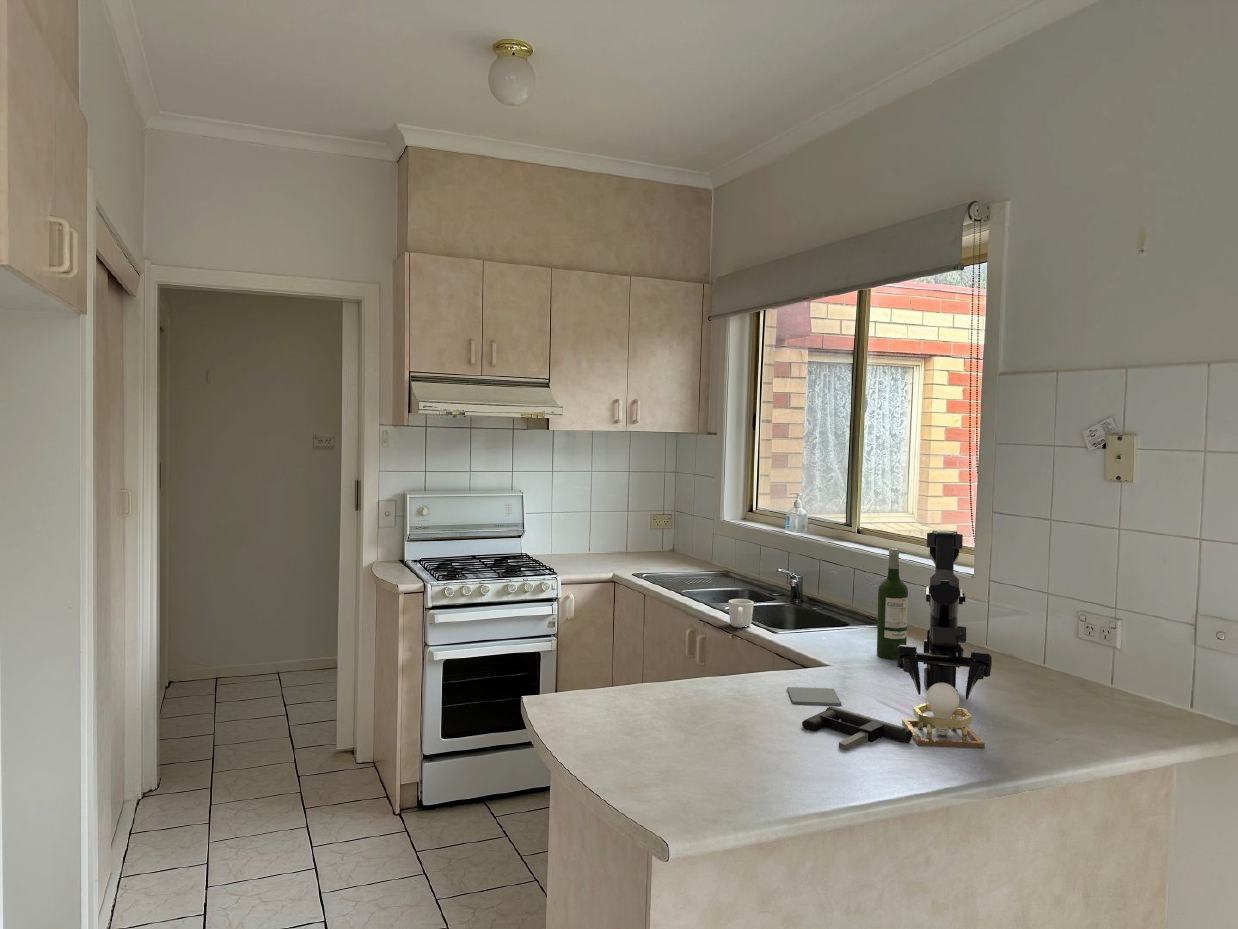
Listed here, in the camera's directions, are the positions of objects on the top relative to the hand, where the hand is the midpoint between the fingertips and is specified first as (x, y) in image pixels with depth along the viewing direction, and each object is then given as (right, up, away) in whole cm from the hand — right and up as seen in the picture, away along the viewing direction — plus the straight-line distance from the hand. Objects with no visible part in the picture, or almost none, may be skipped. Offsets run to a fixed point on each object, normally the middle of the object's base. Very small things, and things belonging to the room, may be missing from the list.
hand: (942, 696), depth 182 cm
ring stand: (0, -8, 0) cm, 8 cm away
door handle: (-19, -9, 0) cm, 21 cm away
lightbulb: (0, -8, 0) cm, 8 cm away
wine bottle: (+9, -6, +63) cm, 64 cm away
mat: (-21, -7, +25) cm, 34 cm away
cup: (-29, -4, +96) cm, 100 cm away
